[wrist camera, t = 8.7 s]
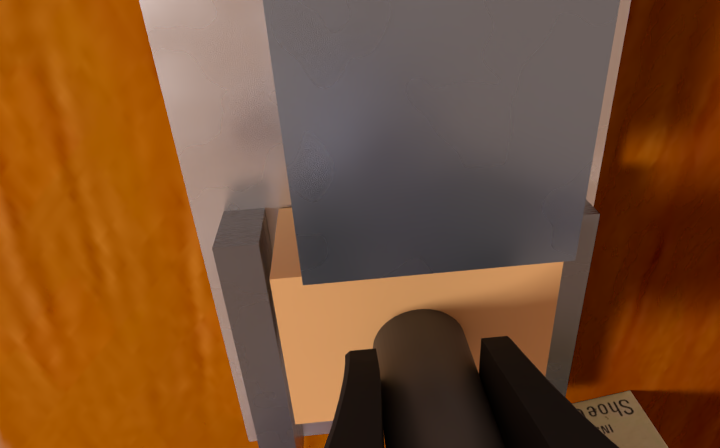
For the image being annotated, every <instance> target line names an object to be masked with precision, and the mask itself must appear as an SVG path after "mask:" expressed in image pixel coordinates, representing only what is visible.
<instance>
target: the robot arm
mask: <svg viewBox="0 0 720 448" xmlns="http://www.w3.org/2000/svg"><path fill="white" fill-rule="evenodd" d="M479 376H480V379H481V381H482V384H483V387H484V390H485V393H486V395H487V398H488V401H489V404H490V407H491V409H492V412H493V415H494V418H495V420H496V423H497V426H498V429H499V432H500V434H501V437H502V440H503V443H504V446H505V448H619V447H618V446H617V445H616V444H615V443H614V442H612V441H611V440H610V439H609V438H608V437H607V436H606V435H605V434H603V433H602V432H601V431H600V430H599V429H598V428H597V427H596V426H595V425H593V424H592V423H591V422H590V421H589V420H588V419H587V418H586V417H585V416H584V415H583V414H582V413H581V412H580V411H579V410H577V409H576V408H575V407H574V406H573V405H572V404H571V403H570V402H569V401H568V400H567V399H566V398H565V397H564V396H563V395H562V394H561V393H560V392H559V391H558V390H557V389H556V388H555V386H554V385H553V384H552V383H551V382H550V381H549V380H548V379H547V378H546V377H545V376H544V375H543V374H542V373H541V372H540V371H539V370H538V368H537V367H536V366H535V365H534V364H533V363H532V362H531V361H530V360H529V359H528V357H527V356H526V355H525V354H524V353H523V352H522V351H521V350H520V348H519V347H518V346H517V345H516V344H515V343H514V342H513V341H512V339H510V338H509V337H508V336H500V337H489V338H481V349H480V362H479ZM324 448H384V432H383V414H382V396H381V378H380V368H379V362H378V357H377V351H376V348H374V349H364V350H353V351H349V352H348V353H347V354H346V355H345V369H344V377H343V382H342V387H341V392H340V397H339V401H338V405H337V408H336V412H335V415H334V419H333V423H332V426H331V429H330V433H329V436H328V438H327V441H326V444H325V447H324Z"/></svg>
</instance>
